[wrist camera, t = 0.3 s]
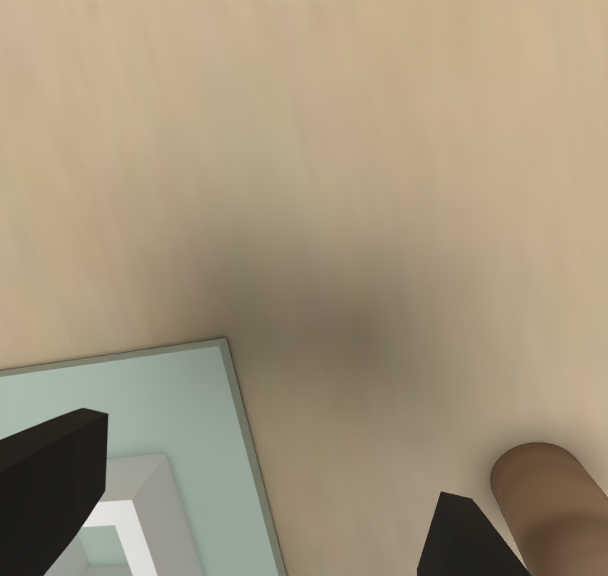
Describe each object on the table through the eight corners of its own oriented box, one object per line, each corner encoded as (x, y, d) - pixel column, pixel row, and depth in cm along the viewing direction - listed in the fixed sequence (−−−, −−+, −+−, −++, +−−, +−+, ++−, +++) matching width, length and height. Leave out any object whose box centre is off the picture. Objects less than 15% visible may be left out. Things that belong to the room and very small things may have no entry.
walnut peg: (585, 514, 18) (754, 754, 10) (494, 519, 19) (589, 747, 11) (581, 438, 17) (763, 639, 10) (486, 446, 18) (584, 639, 10)
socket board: (301, 633, 22) (289, 726, 18) (57, 634, 25) (3, 715, 21) (226, 338, 18) (191, 376, 14) (-52, 378, 21) (-143, 419, 17)
